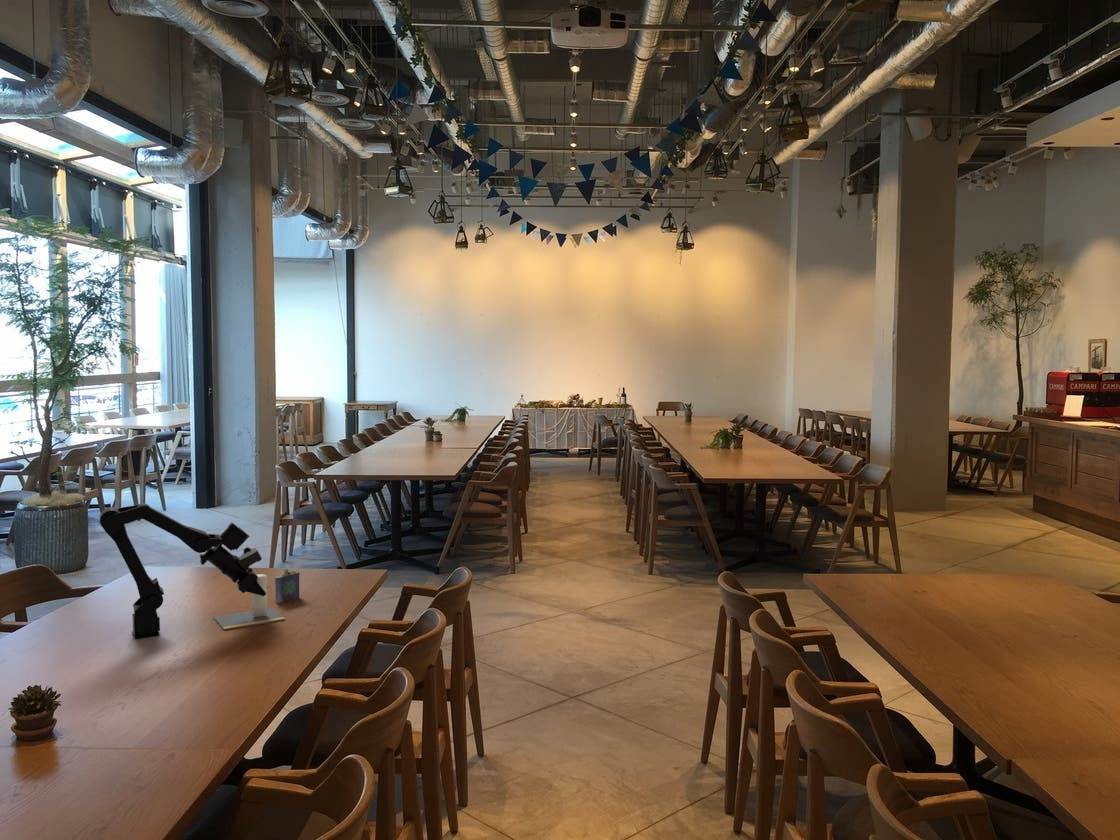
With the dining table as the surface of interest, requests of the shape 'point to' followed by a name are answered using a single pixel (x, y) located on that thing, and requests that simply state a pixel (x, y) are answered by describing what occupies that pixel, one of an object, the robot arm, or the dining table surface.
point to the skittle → (260, 598)
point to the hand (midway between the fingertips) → (263, 592)
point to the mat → (247, 619)
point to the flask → (287, 587)
